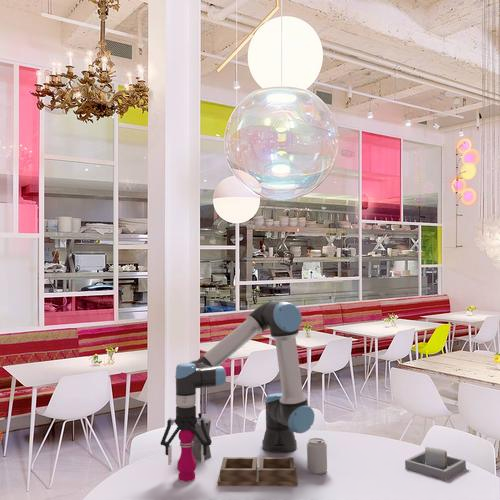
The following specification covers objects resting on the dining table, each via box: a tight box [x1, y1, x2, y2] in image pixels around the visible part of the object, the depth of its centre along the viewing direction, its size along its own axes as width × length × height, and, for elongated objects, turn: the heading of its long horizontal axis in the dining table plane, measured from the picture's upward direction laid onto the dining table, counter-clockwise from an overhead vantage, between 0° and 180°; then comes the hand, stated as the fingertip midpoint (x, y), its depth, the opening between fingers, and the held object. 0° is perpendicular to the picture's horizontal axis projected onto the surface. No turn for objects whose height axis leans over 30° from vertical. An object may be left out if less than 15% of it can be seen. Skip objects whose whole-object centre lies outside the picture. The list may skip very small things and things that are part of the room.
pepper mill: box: [176, 430, 197, 482], centre depth 197 cm, size 7×7×20 cm
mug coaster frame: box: [404, 450, 467, 481], centre depth 204 cm, size 16×16×3 cm
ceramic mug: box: [424, 446, 448, 470], centre depth 206 cm, size 11×8×8 cm
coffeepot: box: [192, 412, 212, 461], centre depth 221 cm, size 15×9×18 cm, turn 35°
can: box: [306, 437, 328, 475], centre depth 202 cm, size 8×8×12 cm
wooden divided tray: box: [217, 456, 299, 487], centre depth 196 cm, size 29×14×6 cm, turn 88°
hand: (186, 463), depth 197 cm, fingers open, 12 cm apart
